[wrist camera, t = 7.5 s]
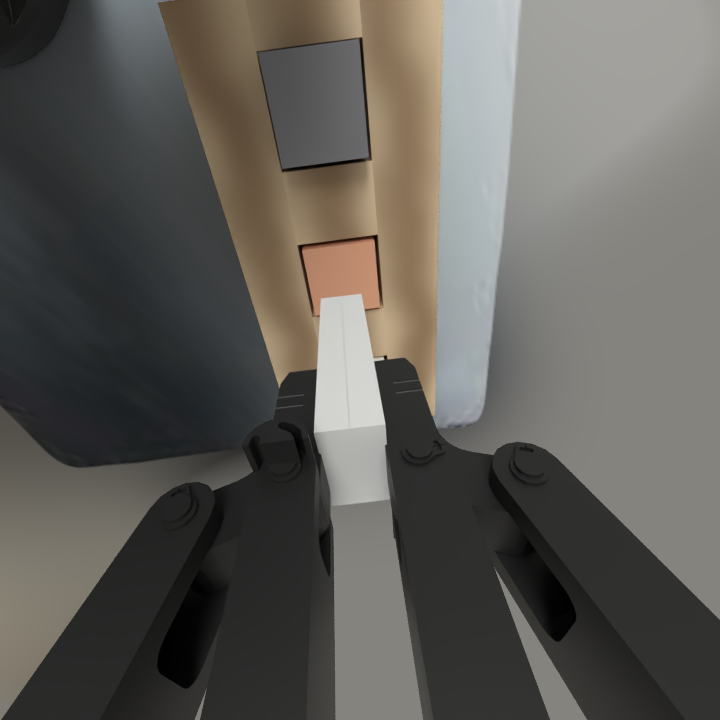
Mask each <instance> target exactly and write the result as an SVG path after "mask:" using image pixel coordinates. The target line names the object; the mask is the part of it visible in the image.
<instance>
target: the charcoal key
mask: <svg viewBox="0 0 720 720" xmlns="http://www.w3.org/2000/svg"><path fill="white" fill-rule="evenodd" d="M258 55H259V60H260V65H261V69H262V74H263V79H264V84H265V89H266V93H267V98H268V103H269V108H270V112H271V117H272V122H273V127H274V131H275V136H276V141H277V146H278V150H279V155H280V160H281V165H282V169H285V168H292V167H300V166H307V165H315V164H322V163H330V162H337V161H345V160H352V159H360V158H367V157H369V153H368V141H367V128H366V116H365V104H364V92H363V80H362V68H361V55H360V43H359V39H355V40H347V41H340V42H333V43H325V44H318V45H311V46H303V47H296V48H289V49H281V50H274V51H267V52H259V53H258Z"/></svg>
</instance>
